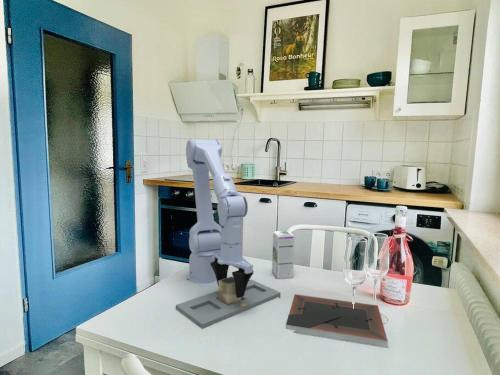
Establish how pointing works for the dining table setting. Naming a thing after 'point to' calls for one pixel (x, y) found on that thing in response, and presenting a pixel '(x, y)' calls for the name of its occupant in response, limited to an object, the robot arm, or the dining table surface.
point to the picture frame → (337, 320)
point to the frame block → (227, 291)
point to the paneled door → (214, 311)
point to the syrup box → (283, 254)
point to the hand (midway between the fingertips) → (230, 291)
